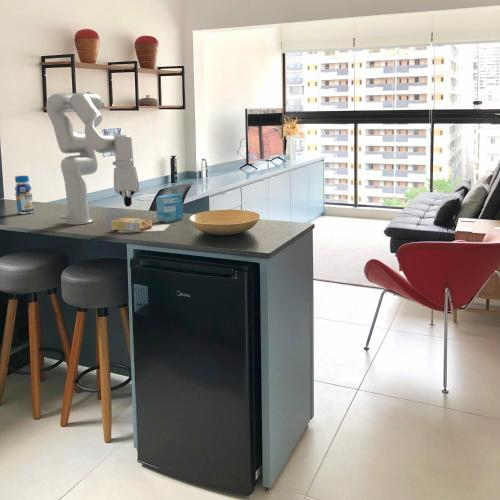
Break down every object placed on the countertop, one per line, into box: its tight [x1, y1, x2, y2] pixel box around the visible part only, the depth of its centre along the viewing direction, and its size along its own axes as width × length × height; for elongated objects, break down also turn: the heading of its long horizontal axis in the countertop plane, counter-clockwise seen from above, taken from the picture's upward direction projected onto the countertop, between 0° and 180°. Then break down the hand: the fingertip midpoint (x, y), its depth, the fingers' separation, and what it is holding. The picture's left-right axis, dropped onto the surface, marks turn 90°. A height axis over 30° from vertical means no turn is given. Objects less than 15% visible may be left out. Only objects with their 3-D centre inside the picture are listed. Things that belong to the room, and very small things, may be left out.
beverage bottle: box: [14, 175, 35, 213], centre depth 316 cm, size 8×8×20 cm
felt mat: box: [117, 223, 171, 233], centre depth 261 cm, size 20×15×1 cm
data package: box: [155, 193, 184, 223], centre depth 278 cm, size 12×4×12 cm, turn 135°
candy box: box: [110, 217, 153, 233], centre depth 259 cm, size 9×4×15 cm
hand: (128, 206), depth 260 cm, fingers closed
